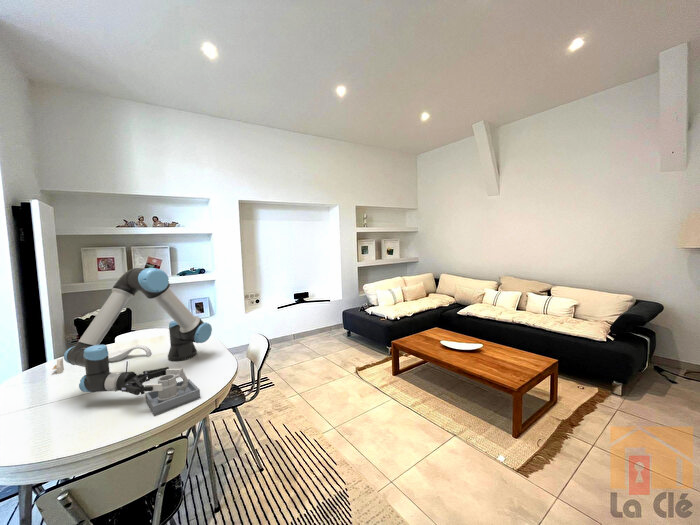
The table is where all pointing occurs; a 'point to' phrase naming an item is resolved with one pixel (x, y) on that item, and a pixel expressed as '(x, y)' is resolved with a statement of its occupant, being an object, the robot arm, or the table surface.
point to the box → (183, 398)
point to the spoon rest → (126, 353)
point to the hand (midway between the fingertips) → (172, 379)
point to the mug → (171, 386)
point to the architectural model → (59, 366)
